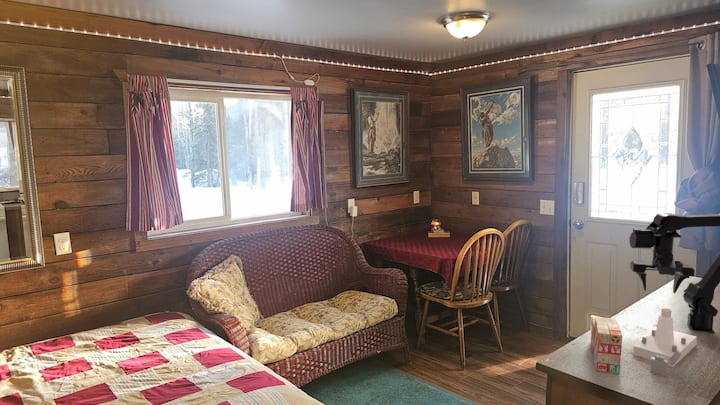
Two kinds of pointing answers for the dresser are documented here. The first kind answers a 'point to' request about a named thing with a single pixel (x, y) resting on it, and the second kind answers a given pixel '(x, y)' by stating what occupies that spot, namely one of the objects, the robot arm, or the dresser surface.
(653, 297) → the dresser surface
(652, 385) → the dresser surface
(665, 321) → the pepper shaker
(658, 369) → the lighter
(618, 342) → the stack of blocks
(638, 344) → the cream board with pegs
